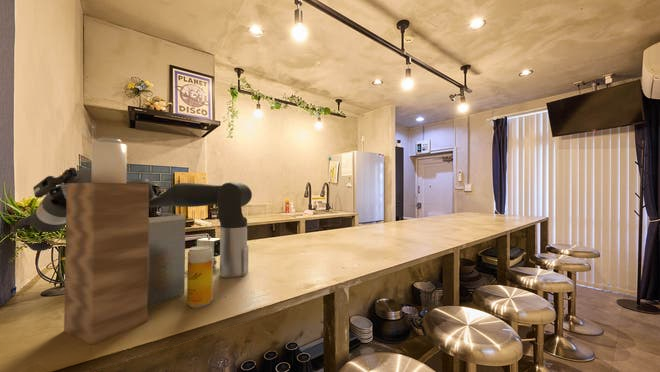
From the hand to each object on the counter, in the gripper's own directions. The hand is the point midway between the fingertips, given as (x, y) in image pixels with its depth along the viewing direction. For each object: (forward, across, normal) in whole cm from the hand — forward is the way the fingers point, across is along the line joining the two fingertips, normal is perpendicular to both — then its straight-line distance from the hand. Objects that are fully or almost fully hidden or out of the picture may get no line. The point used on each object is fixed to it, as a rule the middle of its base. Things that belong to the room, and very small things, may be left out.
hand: (90, 171), depth 61 cm
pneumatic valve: (-25, -41, -26) cm, 55 cm away
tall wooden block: (-10, 0, -34) cm, 36 cm away
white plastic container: (+1, 0, -4) cm, 4 cm away
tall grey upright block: (-15, -14, -32) cm, 38 cm away
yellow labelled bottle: (-3, -17, -39) cm, 43 cm away
